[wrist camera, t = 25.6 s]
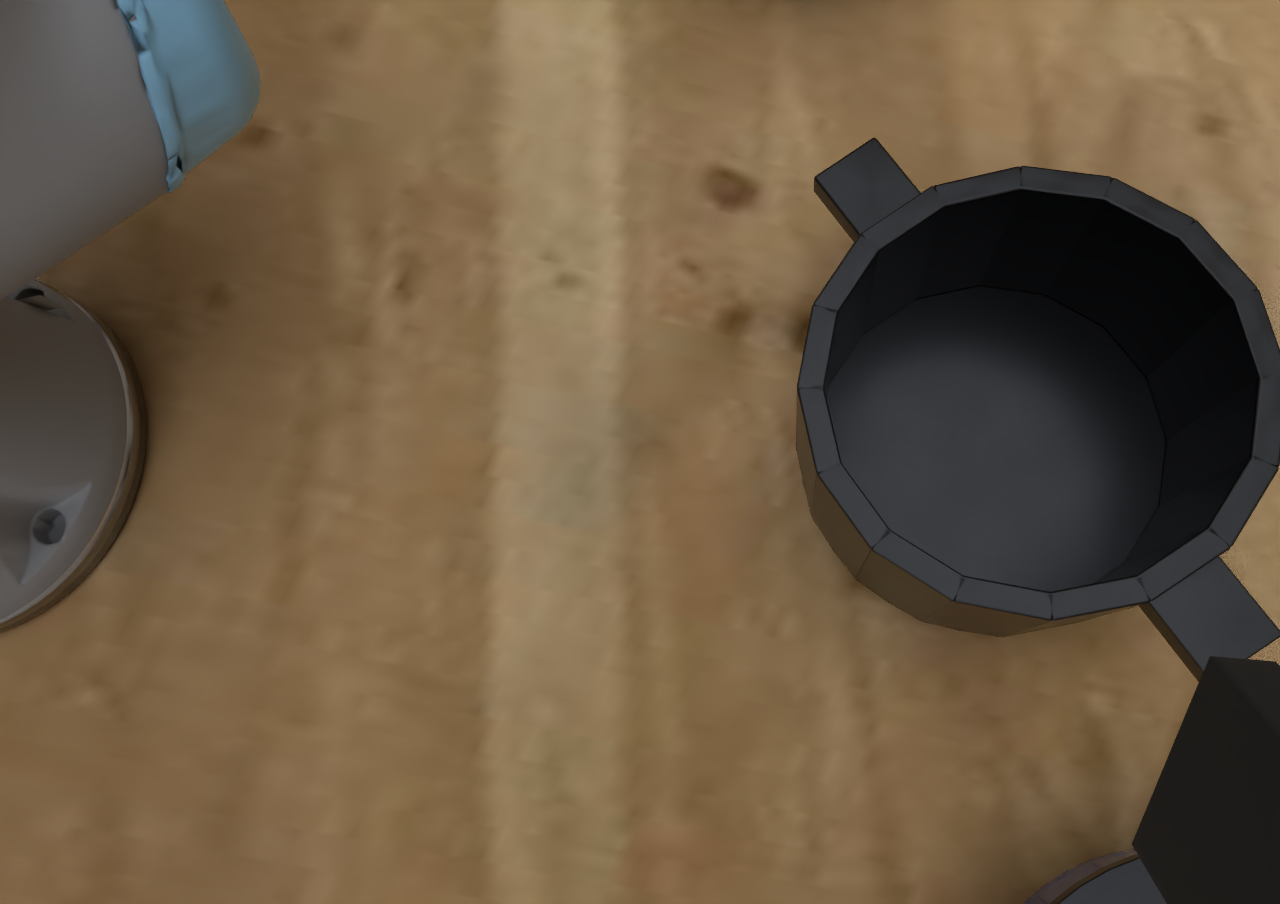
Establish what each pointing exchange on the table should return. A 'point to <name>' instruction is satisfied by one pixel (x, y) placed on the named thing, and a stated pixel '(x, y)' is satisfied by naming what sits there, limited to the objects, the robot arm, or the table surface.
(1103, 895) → the lid
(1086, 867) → the pan
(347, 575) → the table surface
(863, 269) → the pot
